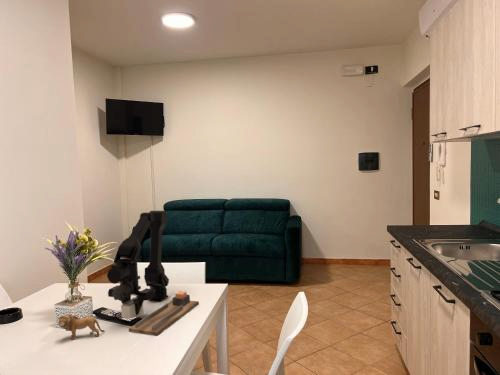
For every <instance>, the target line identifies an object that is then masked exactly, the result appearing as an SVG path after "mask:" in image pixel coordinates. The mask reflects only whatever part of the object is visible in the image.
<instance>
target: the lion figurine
mask: <svg viewBox="0 0 500 375" xmlns="http://www.w3.org/2000/svg"><path fill="white" fill-rule="evenodd" d="M58 326H59V327H60V329H63V330H65V331H66V332H71V338H70V340H71V341H74V340H75V339H76V338H77V335H76V334H77V333H76V332H77V330H83V329H85V328H87V327H88V328H89V329H90V330H91V331H89V335H93V334H94V333H96V334H95V337H96V338H98V337H99V336H100V332H101V333H105V332H106V331H105V330H104V329H101V327H100V326H101V325H100V324H99V321H98V320H97V318H95V317H94V316H88V317H83V318H79V317H77V316H76V315H72V314H68V313H63V314H61V315H60V316H58ZM96 326H97V327H96Z"/></svg>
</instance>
